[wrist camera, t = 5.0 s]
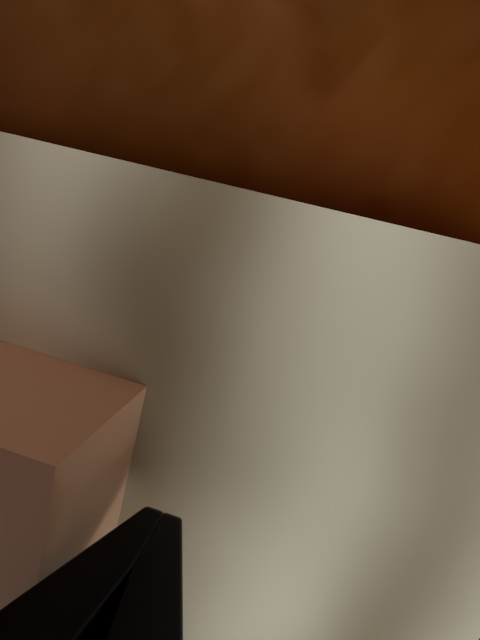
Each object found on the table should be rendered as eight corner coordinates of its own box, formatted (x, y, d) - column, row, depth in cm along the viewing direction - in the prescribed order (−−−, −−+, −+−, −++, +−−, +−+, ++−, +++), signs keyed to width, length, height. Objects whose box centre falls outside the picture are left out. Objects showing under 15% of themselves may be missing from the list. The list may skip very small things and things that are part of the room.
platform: (534, 277, 9) (659, 286, 6) (364, 672, 12) (390, 812, 9) (-13, 146, 10) (-134, 100, 7) (-44, 524, 13) (-140, 601, 10)
